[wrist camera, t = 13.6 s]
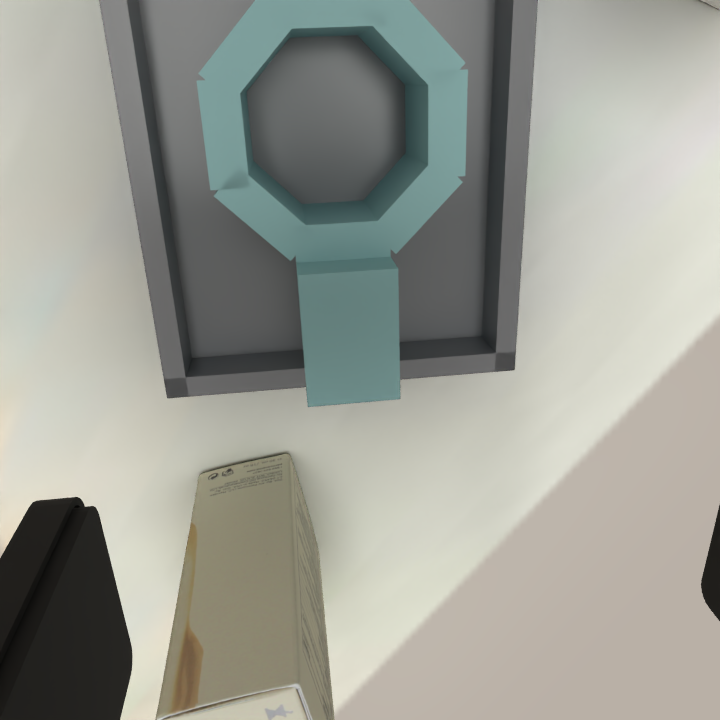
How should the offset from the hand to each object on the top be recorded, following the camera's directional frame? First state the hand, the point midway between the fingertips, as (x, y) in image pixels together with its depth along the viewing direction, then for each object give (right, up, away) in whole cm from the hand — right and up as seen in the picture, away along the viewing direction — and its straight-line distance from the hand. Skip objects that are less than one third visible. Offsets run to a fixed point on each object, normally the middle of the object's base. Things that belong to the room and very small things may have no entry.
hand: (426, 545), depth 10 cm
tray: (-2, +11, +15) cm, 18 cm away
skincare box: (-6, -4, +21) cm, 22 cm away
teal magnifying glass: (-2, +9, +15) cm, 17 cm away
